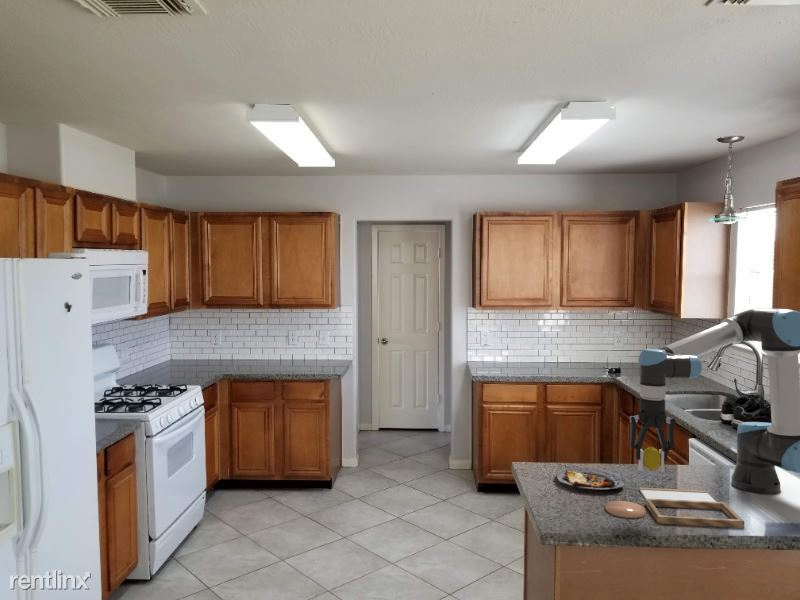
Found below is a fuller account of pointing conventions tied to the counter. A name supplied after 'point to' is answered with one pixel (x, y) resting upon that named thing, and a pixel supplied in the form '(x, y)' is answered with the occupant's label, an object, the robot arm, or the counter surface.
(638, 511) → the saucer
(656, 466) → the lemon
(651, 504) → the wooden frame
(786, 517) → the counter surface
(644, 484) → the counter surface
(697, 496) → the lid
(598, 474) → the food plate
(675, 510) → the counter surface
